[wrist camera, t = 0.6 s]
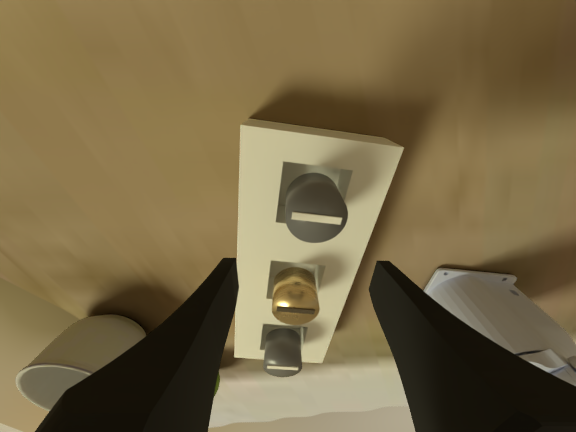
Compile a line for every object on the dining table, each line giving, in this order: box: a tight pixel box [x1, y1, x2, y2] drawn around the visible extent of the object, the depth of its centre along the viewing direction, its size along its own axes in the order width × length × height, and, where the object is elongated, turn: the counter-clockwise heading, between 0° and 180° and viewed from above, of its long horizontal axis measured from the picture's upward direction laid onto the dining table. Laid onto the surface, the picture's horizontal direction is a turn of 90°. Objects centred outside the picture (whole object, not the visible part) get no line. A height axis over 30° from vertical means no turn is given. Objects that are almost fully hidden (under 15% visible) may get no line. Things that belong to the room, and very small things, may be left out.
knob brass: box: [272, 267, 320, 325], centre depth 20 cm, size 4×4×3 cm
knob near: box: [285, 172, 348, 243], centre depth 16 cm, size 4×4×3 cm
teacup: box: [16, 314, 146, 411], centre depth 27 cm, size 14×11×8 cm
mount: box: [234, 118, 404, 363], centre depth 23 cm, size 11×27×4 cm, turn 172°
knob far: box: [263, 328, 302, 377], centre depth 25 cm, size 4×4×3 cm
